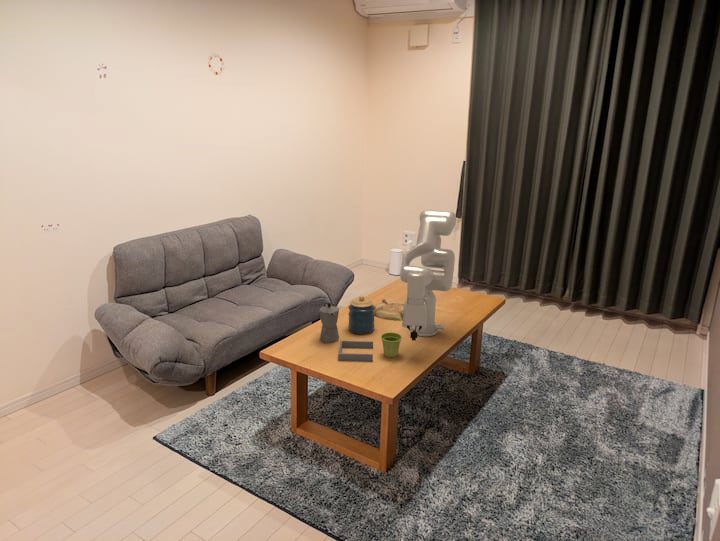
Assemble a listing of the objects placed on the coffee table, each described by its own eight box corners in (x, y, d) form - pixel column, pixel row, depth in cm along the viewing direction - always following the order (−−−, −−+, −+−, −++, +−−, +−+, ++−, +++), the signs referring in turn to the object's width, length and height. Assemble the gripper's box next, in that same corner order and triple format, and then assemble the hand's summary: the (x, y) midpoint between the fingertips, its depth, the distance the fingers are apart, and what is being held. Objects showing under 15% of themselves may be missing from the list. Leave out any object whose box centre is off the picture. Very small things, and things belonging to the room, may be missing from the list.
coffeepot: (342, 343, 239) (342, 307, 233) (322, 345, 236) (322, 309, 231) (335, 330, 253) (334, 296, 248) (316, 332, 250) (315, 297, 245)
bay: (373, 347, 235) (373, 341, 234) (372, 361, 222) (372, 354, 221) (340, 346, 235) (340, 340, 235) (338, 360, 222) (338, 354, 222)
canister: (373, 335, 248) (374, 300, 243) (347, 334, 249) (347, 300, 243) (374, 324, 260) (375, 291, 255) (349, 323, 261) (349, 291, 256)
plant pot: (405, 353, 230) (405, 335, 227) (395, 361, 222) (395, 343, 219) (386, 348, 234) (387, 330, 232) (376, 356, 227) (376, 337, 224)
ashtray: (425, 313, 277) (425, 304, 276) (396, 325, 261) (397, 315, 259) (392, 301, 293) (392, 293, 292) (363, 312, 277) (363, 304, 275)
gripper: (432, 297, 224) (429, 336, 229) (397, 296, 224) (396, 335, 229) (433, 303, 217) (431, 343, 222) (398, 302, 217) (396, 342, 222)
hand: (413, 339), depth 226 cm, fingers closed
